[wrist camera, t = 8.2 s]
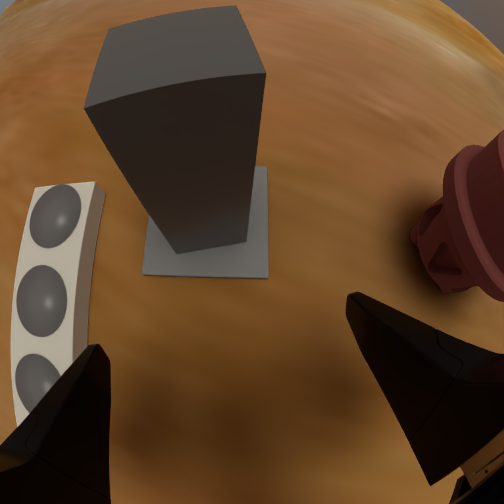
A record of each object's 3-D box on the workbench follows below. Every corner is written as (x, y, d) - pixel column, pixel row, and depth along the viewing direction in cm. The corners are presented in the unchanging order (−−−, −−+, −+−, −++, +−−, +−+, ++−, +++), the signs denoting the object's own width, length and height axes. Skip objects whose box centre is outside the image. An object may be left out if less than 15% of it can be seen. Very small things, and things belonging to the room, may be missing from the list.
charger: (246, 242, 18) (265, 72, 6) (176, 254, 18) (83, 108, 5) (233, 179, 20) (235, 4, 7) (169, 190, 19) (109, 27, 7)
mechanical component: (462, 334, 18) (371, 278, 18) (482, 234, 20) (406, 175, 21) (587, 312, 6) (507, 204, 7) (575, 178, 8) (490, 79, 9)
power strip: (103, 501, 12) (89, 517, 10) (43, 478, 12) (26, 489, 10) (105, 194, 19) (90, 175, 17) (47, 198, 19) (30, 182, 16)
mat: (267, 278, 18) (268, 277, 18) (144, 275, 18) (142, 274, 17) (266, 169, 20) (266, 166, 20) (158, 169, 20) (157, 166, 20)
